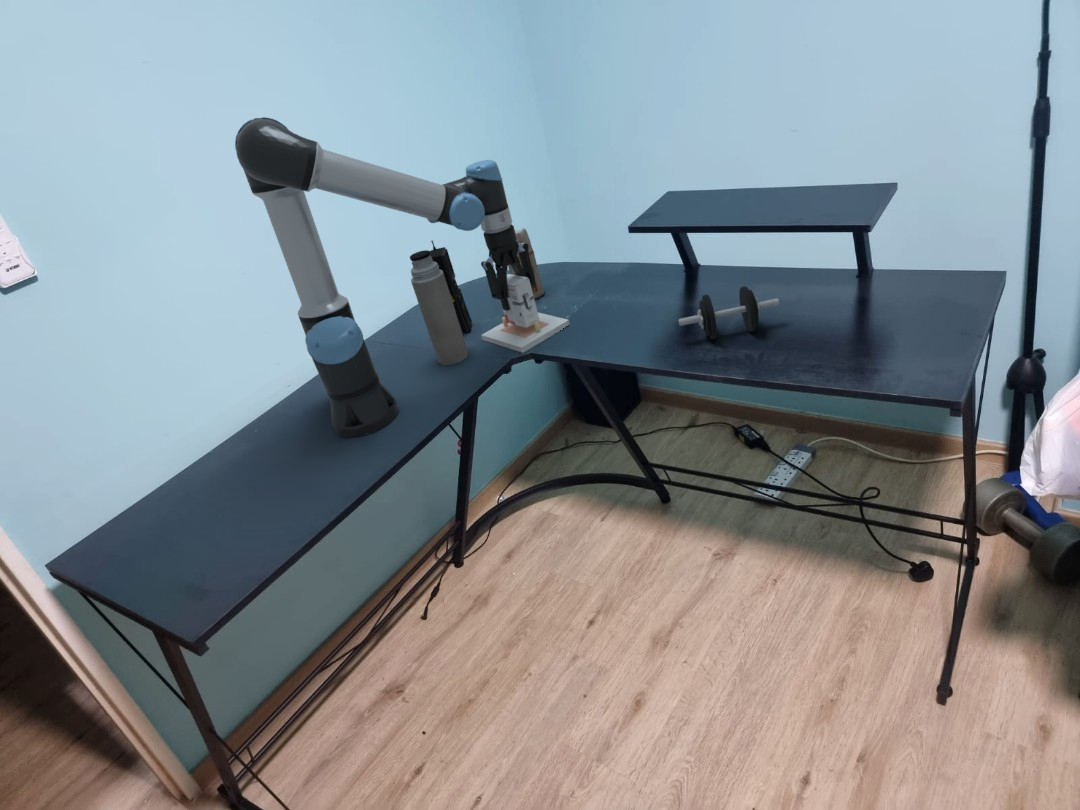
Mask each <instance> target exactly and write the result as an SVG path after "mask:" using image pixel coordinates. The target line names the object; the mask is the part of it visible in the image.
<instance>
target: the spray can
mask: <svg viewBox="0 0 1080 810" xmlns="http://www.w3.org/2000/svg"><path fill="white" fill-rule="evenodd" d="M514 230H515V233H516V237H517V238H516V241H517V242H518V244H519V243H526V244H528V253H529V257H530V261H531V265H532V269H533V273H534V276H535V281H534V282H532V287H531V288H532V292H533V296H534V300H536V299H538V298H540V297H541V296H543V295H544V294H545V290H544V287H543V282H542V278H541V274H540V272H539V271H540V270H539V267H538V263H537V260H536V255H535V251H534V249H533V246H532V242H531V239H530V236H529V233H528V231H527V229H526V228H525V227H523V228H521V229H514ZM517 256H518V258H519V260H520V257H519V252H518V253H517ZM520 264H521V260H520ZM521 266H522V264H521ZM508 270H509V274H512V275H516V274H515V272H514V270H513V268H512V267H511V265H510V264H509V265H508Z"/></svg>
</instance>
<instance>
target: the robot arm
mask: <svg viewBox="0 0 1080 810" xmlns="http://www.w3.org/2000/svg"><path fill="white" fill-rule="evenodd" d="M234 141H235V143H234V147H235V151H236V157H237V159H238V163H239V165H240V166H241V168H242V169H243V172H244V175H245V177H246V180H247V183H248V186H249V188H250V190H251V193H252V195H254V196H256V197H258V198H259V199H260V200H262V202H263V204H264V206H265V209H266V213H267V215H268V217H269V219H270V220H269V221H270V223H271V226H272V228H273V232H274V234H275V238H276V239H277V242H278V245H279V248H280V249H281V253H282V255H283V259H284V261H285V264H286V266H287V270H288V272H289V275H290V277H291V280H292V281H293V286H294V287H295V288H294V289H295V291H296V294H297V296H298V298H299V301H300V304H301V305H300V307H299V310H298V311H297V316H298V318H299V321H300V323H301V326H302V328H303V329H302V330H303V332H304V334H305V337H304V339H305V345H306V350H307V352H308V354H309V356H310V357H311V359H312V361H313V365H314V366H315V368H316V371H317V373H318V376H319V377H320V379H321V382H322V384H323V387H324V390H325V391H326V393H327V396H328V398H329V403H330V418H331V425H332V427H333V429H334V432H335V434H337V436H340V437H344V438H355V437H356V436H357V437H361V436H360V435H362V436H365V435H364V434H366V435H368V434H367V433H369V434H372V433H374V432H376V431H379V430H380V429H382V428H384V427H385V426H387V425H389V424H390V423H392V421H394V419H396V417H397V415H398V413H399V412H400V407H399V405H398V402H397V400H396V397H395V396H394V395H393V394H392V393H391V392H390V390H389V389H388V388H387V386H385V384H383V382H382V381H381V379H380V377H379V374H378V371H377V369H376V368H375V364H374V361H373V359H372V356H371V355H370V354H371V353H370V352H369V348H368V347H367V343H366V341H365V339H364V334H363V331H362V328H360V326H359V325H358V323H357V322H356V320H355V317H354V313H353V311H352V308H351V304H350V303H349V299H348V298H347V297H346V296H344V295H342V294H340V293H339V290H338V287H337V284H336V282H335V279H334V276H333V273H332V270H331V268H330V264H329V260H328V258H327V255H326V252H325V250H324V247H323V244H322V240H321V238H320V235H319V232H318V229H317V226H316V223H315V220H314V217H313V214H312V211H311V208H310V204H309V201H308V199H307V196H306V193H305V192H311V191H312V190H314V189H317V190H321V191H324V192H329V193H332V194H336V195H339V196H342V197H347V198H350V199H354V200H358V201H361V202H365V203H369V204H373V205H377V206H379V207H384V208H386V209H391V210H395V211H399V212H403V213H406V214H410V215H414V216H416V217H417V216H418V217H421V218H423V219H426V220H427V221H428V222H429V223H431V224H436V223H442V224H445V225H450V226H453V227H455V228H456V229H457V230H461V231H465V232H468V231H469V232H470V231H474V230H476V229H477V228H478V227H480V226H481V227H480V228H481V230H482V231H483V238H484V241H485V245H486V247H487V249H488V257H487V259H486V260H483V261H481V263H480V266H481V267H482V268H483V270H484V272H485V277H486V279H487V282H488V286H489V290H490V293H491V298H492V299H496V300H501V302H500V305H501V304H502V305H501V307H503V309H504V310H506V313H507V316H508V320H510V321H514V322H516V321H517V318H516V314H515V310H514V306H513V303H512V299H511V297H508V290H507V275H508V274H507V272H508V270H509V268H508V265H509V264H510V265H511V267H512V268H513V270H514V272H515V274H516V275H518V276H523V277H528V279H529V280H530V284H531V287H532V282H534V281H535V276H534V273H533V269H532V265H531V261H530V257H529V253H528V244H526V243H519V244H518V242H517V241H516V238H517V237H516V233H515V230H516V229H515V226H514V225H513V224H512V223H513V219H512V215H511V211H510V207H509V204H508V199H507V195H506V191H505V187H504V183H503V178H502V175H501V173H500V169H499V166H498V164H497V162H496V160H495V161H494V160H492V159H485V160H484V159H483V160H480V161H476V162H473V163H472V164H469V165H467V166H466V167H465V176H463V177H462V178H458V179H455V180H453V181H450V182H446V183H443V184H441V183H436V182H434V181H431V180H427V179H424V178H420V177H417V176H413V175H410V174H408V173H403V172H400V171H397V170H393V169H390V168H386V167H383V166H379V165H377V164H373V163H371V162H367V161H363V160H360V159H357V158H354V157H350V156H347V155H344V154H340V153H337V152H333V151H330V150H327V149H323V147H322V146H321V145H320V143H319V142H318V141H315V140H312V139H309V138H306V137H303V136H301V135H299V134H297V133H294V132H292V131H291V130H289V128H288V127H287V126H286V125H285V124H284V123H282V122H280V121H278V120H277V119H274V118H271V117H264V116H263V117H254V118H253V119H250V120H247V121H246V122H245V123H243V124H242V125H241V126H240V128H239V129H238V131H237V134H236V136H235V140H234ZM518 252H519V257H520V260H521V264H522V266H521V264H520V260H519V258H518V256H517V253H518ZM503 309H502V310H503ZM371 432H372V433H371Z"/></svg>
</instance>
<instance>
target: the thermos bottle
mask: <svg viewBox="0 0 1080 810" xmlns="http://www.w3.org/2000/svg"><path fill="white" fill-rule="evenodd" d="M430 251H431V250H425V249H424V250H420V251H417V252H414V253H412V254H411V255H410V256H409V259H410V261H411V264H412V268H411V269H410V273H411V274H410V275H411V279H410V283H411V285H412V288H413V292H414V295H415V298H416V300H417V302H418V305H419V309H420V312H421V316H422V318H423V321H424V324H425V326H426V329H427V332H428V335H429V338H430V339H429V340H430V341H431V344H432V348H433V350H434V353H435V356H436V358H437V361H438V364H440V365H444V366H447V365H448V366H449V365H454V364H457V363H460V362H462V361H464V360H465V359H466V358H468V356H469V351H468V346H467V344H466V341H465V338H464V334H462V331H461V327H460V324H459V321H458V318H457V315H456V312H455V308H454V305H453V302H452V299H451V296H450V292H449V289H448V286H447V283H446V280H445V276H444V273H443V271H442V270H440V269H439V265H438V264H437V262H434V261H433V260H432V257H431V256H430Z"/></svg>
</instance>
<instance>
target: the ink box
mask: <svg viewBox="0 0 1080 810" xmlns="http://www.w3.org/2000/svg"><path fill="white" fill-rule="evenodd" d="M507 290H508V297H511V299H512V303H513V306H514V310H515V314H516V318H517V321H516V322H514V321H510V320H508V316H507V313H506V310H504V309H503V307H502V304H501V300H500V305H501V307H502V309H501V310H502V311H503V315H504V317H505V319H506V322H507V323H510V324H514V325H518V326H522V327H526V328H527V327H529V326H531V325H532V324H534V322H537V321H540V319H539V316H538V313H539V312H538V308H537V303H536V299H534V296H533V292H532V288H531V284H530V280H529V279H528V277H523V276H518V275H512V274H510V273H508V274H507Z"/></svg>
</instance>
